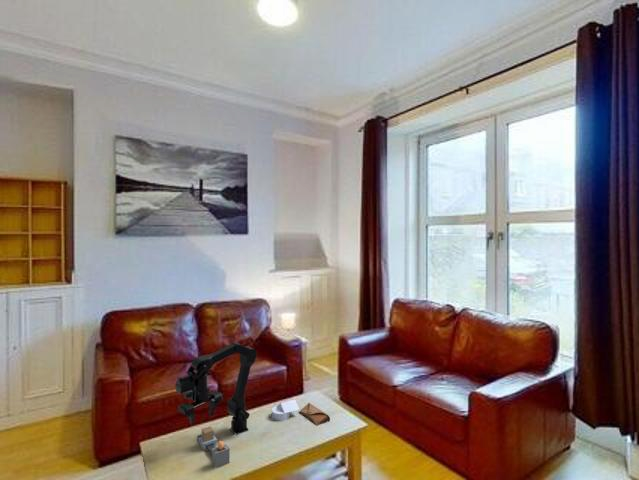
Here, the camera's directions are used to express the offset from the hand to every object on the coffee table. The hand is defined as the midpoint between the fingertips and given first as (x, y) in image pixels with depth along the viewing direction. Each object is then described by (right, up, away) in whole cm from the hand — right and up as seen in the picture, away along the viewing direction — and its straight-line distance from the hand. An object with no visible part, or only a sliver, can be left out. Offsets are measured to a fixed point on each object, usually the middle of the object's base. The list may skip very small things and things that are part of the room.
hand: (201, 420), depth 165 cm
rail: (+4, -11, -2) cm, 12 cm away
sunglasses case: (+49, -12, +28) cm, 58 cm away
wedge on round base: (+34, -11, +29) cm, 46 cm away
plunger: (+12, -6, -12) cm, 18 cm away
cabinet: (+12, -12, -12) cm, 20 cm away
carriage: (+2, -11, +1) cm, 12 cm away
